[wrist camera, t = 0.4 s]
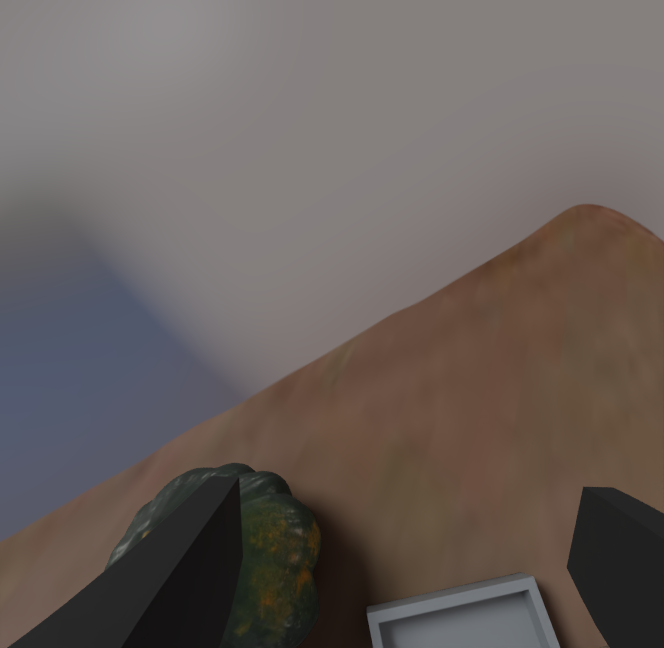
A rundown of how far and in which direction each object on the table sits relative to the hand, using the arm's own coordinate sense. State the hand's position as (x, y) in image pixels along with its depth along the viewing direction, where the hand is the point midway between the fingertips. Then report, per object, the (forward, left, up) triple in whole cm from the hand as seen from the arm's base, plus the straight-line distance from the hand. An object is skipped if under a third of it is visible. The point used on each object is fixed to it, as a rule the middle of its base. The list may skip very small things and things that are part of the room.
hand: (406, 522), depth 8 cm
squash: (-1, +12, -29) cm, 31 cm away
